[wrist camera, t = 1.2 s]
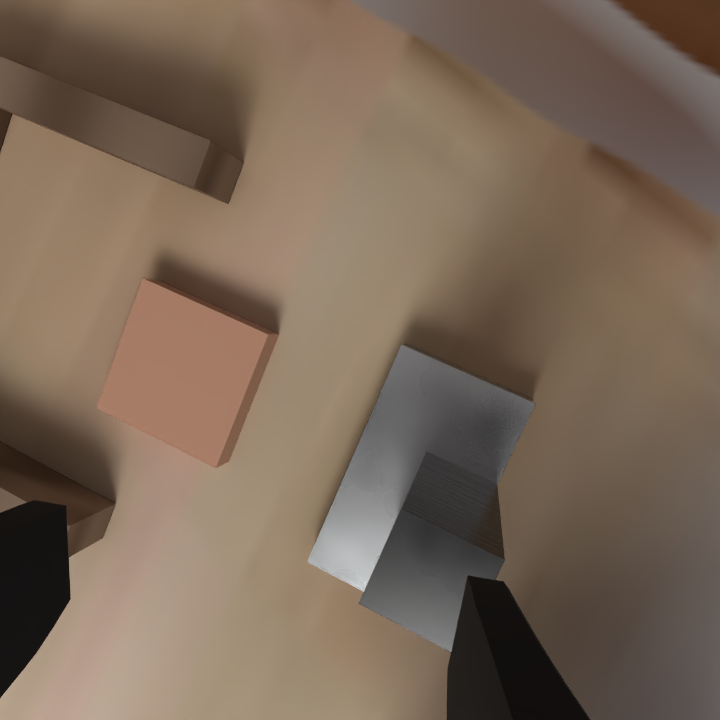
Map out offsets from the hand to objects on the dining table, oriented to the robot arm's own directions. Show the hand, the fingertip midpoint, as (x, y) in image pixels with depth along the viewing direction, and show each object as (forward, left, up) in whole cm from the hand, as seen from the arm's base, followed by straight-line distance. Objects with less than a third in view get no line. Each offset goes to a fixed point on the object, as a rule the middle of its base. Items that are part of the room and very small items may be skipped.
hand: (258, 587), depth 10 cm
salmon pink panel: (+7, 0, -10) cm, 13 cm away
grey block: (-2, 0, -10) cm, 10 cm away
